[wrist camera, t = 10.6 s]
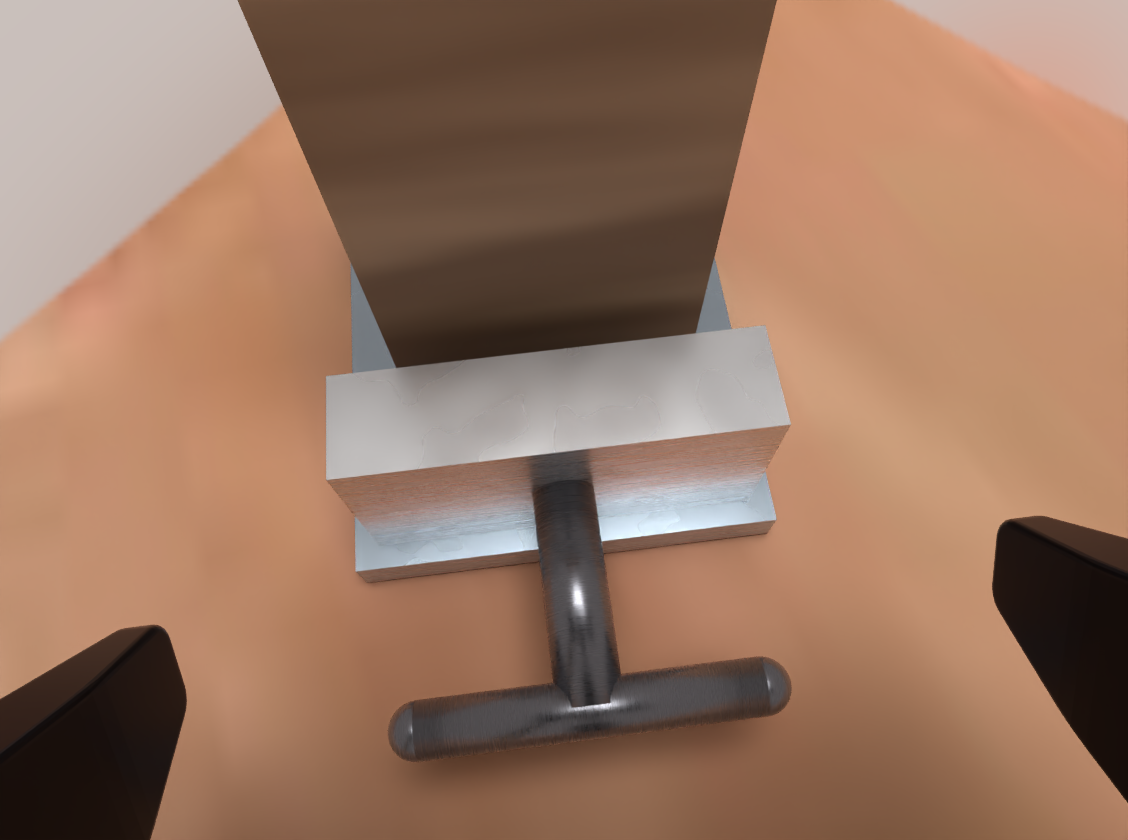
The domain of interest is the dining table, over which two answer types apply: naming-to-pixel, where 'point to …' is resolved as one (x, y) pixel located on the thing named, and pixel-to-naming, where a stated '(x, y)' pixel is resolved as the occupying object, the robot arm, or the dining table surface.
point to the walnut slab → (520, 159)
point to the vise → (562, 507)
